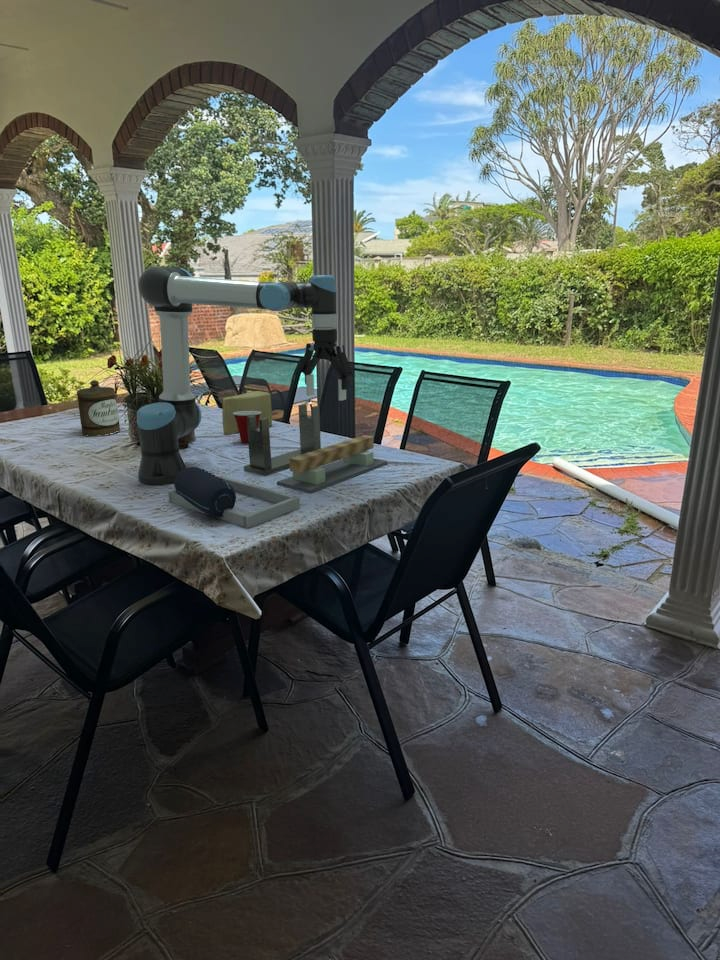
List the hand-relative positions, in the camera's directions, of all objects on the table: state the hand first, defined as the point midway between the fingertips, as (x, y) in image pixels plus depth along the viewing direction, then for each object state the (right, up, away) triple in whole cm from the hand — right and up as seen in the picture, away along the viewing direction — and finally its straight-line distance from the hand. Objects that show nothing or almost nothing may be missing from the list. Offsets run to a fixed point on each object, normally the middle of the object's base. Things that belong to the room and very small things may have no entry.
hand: (326, 397), depth 201 cm
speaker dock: (-25, -33, -20) cm, 46 cm away
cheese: (-37, -5, +69) cm, 78 cm away
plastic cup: (-33, -11, +49) cm, 60 cm away
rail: (+2, -19, +5) cm, 20 cm away
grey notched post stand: (-15, -20, +20) cm, 32 cm away
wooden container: (-98, -6, +68) cm, 119 cm away
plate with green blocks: (+2, -24, +7) cm, 25 cm away
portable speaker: (-32, -34, -22) cm, 52 cm away
